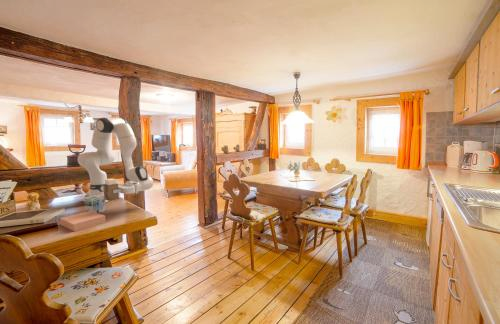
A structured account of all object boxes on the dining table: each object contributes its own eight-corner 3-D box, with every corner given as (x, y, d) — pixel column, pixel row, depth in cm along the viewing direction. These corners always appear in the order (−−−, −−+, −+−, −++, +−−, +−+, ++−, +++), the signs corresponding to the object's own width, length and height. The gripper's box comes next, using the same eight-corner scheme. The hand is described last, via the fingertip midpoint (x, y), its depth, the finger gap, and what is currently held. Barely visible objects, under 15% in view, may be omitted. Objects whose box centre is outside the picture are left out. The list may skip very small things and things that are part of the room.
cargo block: (105, 184, 151) (104, 179, 151) (112, 183, 155) (112, 178, 155) (108, 185, 149) (108, 180, 148) (116, 183, 152) (115, 179, 152)
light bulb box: (93, 215, 154) (92, 199, 153) (84, 214, 156) (83, 198, 155) (106, 210, 165) (105, 195, 164) (98, 209, 166) (97, 194, 165)
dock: (60, 224, 138) (60, 218, 138) (91, 216, 152) (90, 210, 151) (74, 231, 128) (73, 224, 128) (105, 222, 142) (105, 215, 141)
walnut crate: (104, 199, 152) (103, 184, 151) (114, 197, 157) (112, 182, 156) (109, 201, 149) (108, 185, 148) (119, 198, 154) (117, 183, 153)
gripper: (121, 180, 168) (101, 184, 157) (139, 184, 157) (117, 188, 146) (122, 189, 169) (101, 193, 158) (139, 193, 158) (118, 198, 147)
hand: (109, 191), depth 152 cm, fingers closed on walnut crate, 6 cm apart
